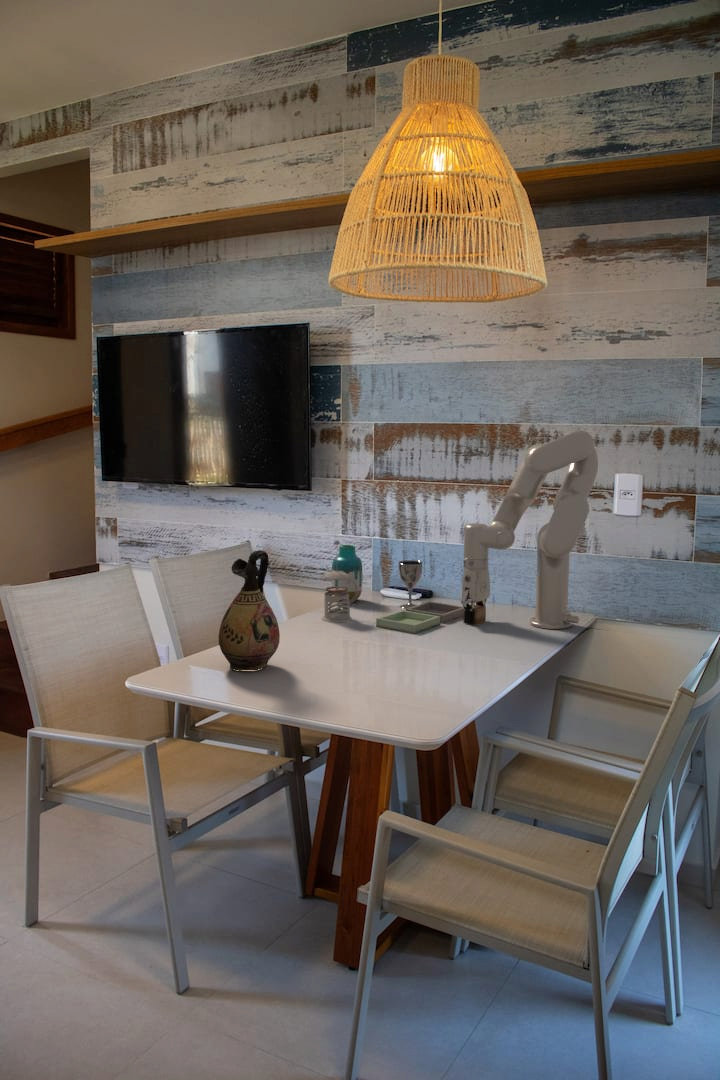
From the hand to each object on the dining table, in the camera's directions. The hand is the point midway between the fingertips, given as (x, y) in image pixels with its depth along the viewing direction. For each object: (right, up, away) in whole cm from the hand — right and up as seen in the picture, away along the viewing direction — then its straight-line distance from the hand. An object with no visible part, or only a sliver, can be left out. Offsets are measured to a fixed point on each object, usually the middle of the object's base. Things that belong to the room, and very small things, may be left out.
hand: (474, 620), depth 270 cm
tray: (-21, -1, -4) cm, 21 cm away
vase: (-40, +4, +30) cm, 50 cm away
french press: (-42, 0, +4) cm, 42 cm away
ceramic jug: (-63, -8, -47) cm, 79 cm away
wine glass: (-19, +3, +21) cm, 29 cm away
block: (0, -1, 0) cm, 1 cm away
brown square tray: (-11, +1, +8) cm, 14 cm away
